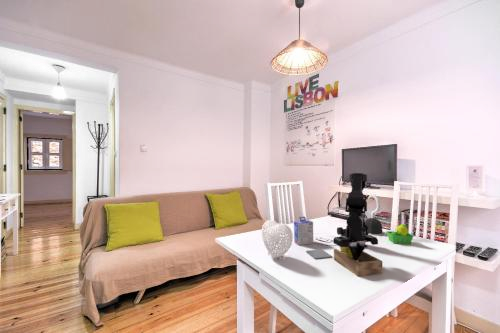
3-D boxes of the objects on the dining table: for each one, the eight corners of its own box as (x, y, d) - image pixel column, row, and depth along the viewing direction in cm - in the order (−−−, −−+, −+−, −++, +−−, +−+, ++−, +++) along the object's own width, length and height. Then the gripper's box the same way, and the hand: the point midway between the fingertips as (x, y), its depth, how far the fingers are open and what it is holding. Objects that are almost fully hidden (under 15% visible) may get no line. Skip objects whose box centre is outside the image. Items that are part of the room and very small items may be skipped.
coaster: (321, 250, 116) (321, 249, 116) (332, 257, 107) (332, 256, 107) (305, 252, 114) (305, 250, 114) (315, 259, 105) (315, 257, 105)
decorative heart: (256, 254, 111) (256, 219, 111) (272, 249, 117) (272, 216, 117) (281, 267, 96) (281, 228, 96) (298, 261, 102) (298, 224, 102)
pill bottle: (339, 259, 105) (335, 234, 108) (353, 258, 105) (348, 232, 108) (346, 261, 98) (341, 234, 102) (360, 260, 99) (355, 233, 102)
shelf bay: (355, 257, 107) (355, 247, 107) (382, 273, 91) (382, 261, 91) (333, 259, 104) (333, 249, 104) (358, 276, 89) (358, 264, 89)
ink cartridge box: (308, 240, 131) (308, 215, 131) (313, 243, 126) (314, 217, 126) (293, 242, 128) (293, 216, 128) (298, 245, 123) (298, 219, 123)
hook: (360, 230, 151) (360, 193, 151) (375, 230, 152) (375, 193, 152) (371, 235, 140) (371, 195, 140) (387, 235, 141) (387, 195, 141)
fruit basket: (406, 240, 131) (406, 221, 131) (415, 245, 123) (416, 225, 123) (385, 239, 133) (385, 220, 133) (393, 245, 124) (393, 224, 124)
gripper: (360, 219, 108) (360, 252, 108) (326, 221, 104) (326, 255, 104) (378, 225, 97) (379, 261, 97) (341, 227, 93) (341, 265, 93)
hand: (355, 260), depth 98 cm, fingers closed
